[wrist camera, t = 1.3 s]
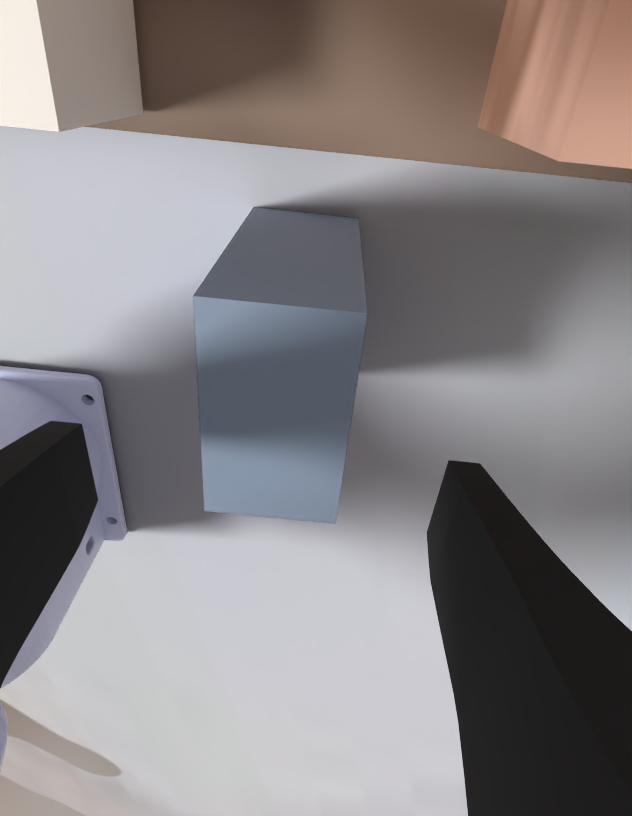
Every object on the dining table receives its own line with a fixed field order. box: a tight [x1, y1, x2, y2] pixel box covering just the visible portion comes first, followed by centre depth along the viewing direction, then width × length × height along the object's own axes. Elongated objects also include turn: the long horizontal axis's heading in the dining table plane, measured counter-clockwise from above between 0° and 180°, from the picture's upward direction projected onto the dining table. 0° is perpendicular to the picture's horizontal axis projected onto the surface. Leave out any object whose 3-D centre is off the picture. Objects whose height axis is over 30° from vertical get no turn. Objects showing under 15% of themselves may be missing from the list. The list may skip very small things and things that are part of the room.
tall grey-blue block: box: [193, 207, 368, 524], centre depth 15 cm, size 6×4×8 cm, turn 175°
